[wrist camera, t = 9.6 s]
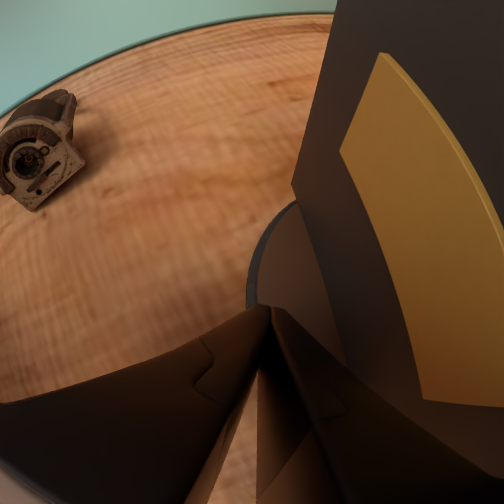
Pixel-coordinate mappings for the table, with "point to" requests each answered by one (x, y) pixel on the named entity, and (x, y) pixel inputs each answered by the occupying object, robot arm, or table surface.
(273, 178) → the table surface
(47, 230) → the table surface
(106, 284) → the table surface
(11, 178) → the mechanical counter
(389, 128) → the dark upright block
